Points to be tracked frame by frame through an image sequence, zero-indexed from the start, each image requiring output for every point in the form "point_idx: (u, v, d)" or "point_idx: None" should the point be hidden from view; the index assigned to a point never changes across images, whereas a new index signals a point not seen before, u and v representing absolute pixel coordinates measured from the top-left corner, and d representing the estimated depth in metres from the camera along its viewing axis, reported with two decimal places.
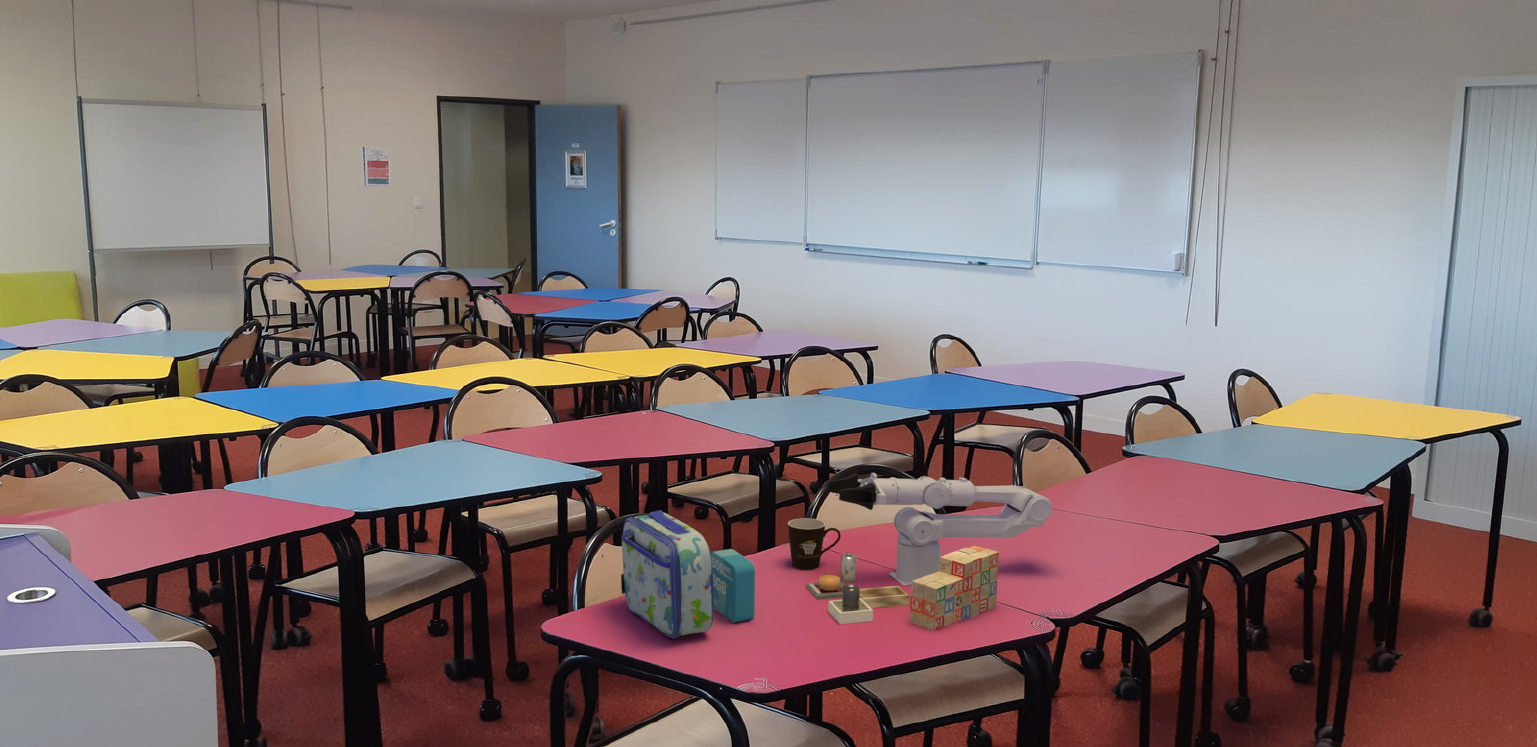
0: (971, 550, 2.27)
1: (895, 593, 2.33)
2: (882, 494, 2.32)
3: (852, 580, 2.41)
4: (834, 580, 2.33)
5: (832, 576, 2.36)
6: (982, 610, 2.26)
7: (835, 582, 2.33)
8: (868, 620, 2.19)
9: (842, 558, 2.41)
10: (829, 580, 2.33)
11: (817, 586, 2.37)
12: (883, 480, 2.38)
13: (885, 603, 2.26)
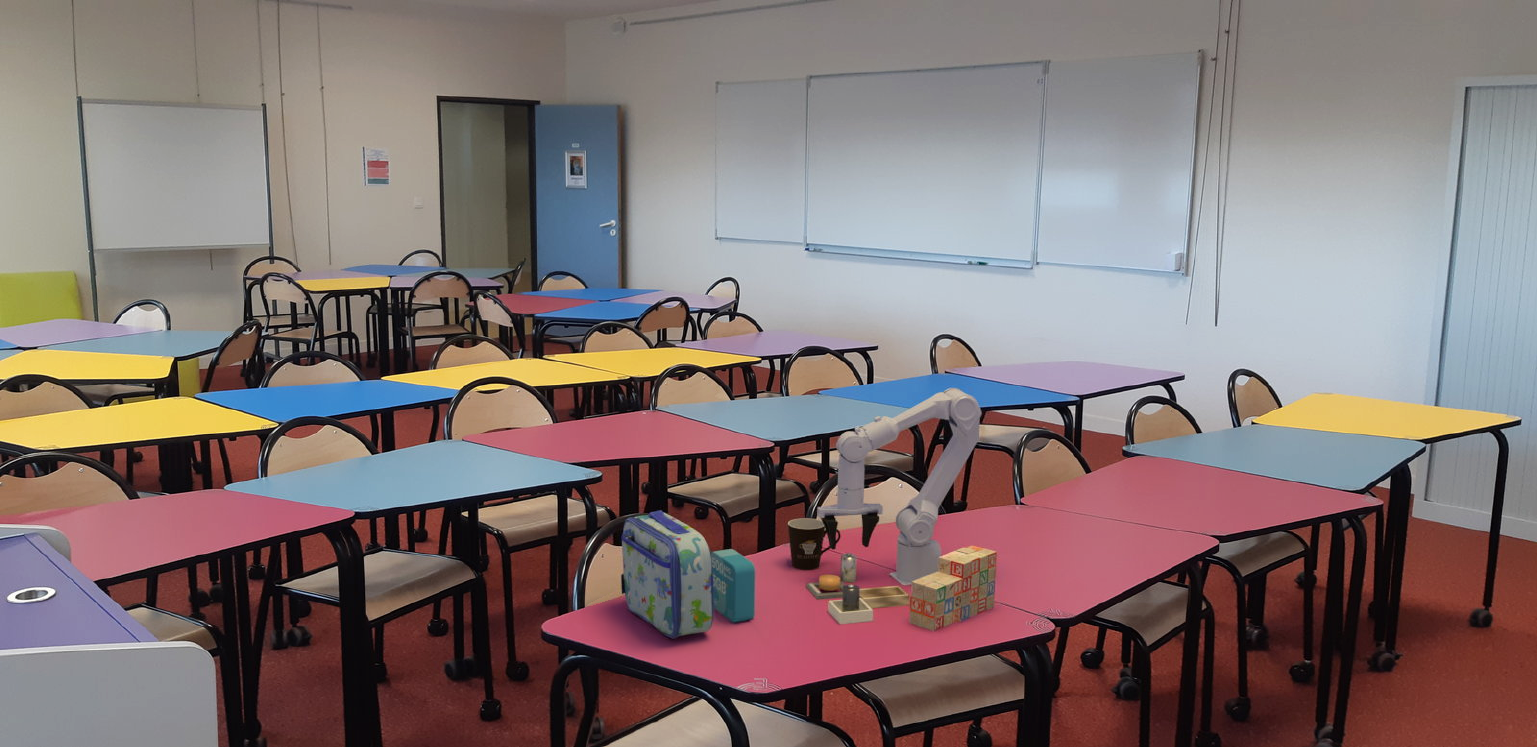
0: (969, 550, 2.27)
1: (895, 593, 2.33)
2: None
3: (852, 580, 2.41)
4: (834, 580, 2.33)
5: (832, 576, 2.36)
6: (980, 610, 2.26)
7: (835, 582, 2.33)
8: (868, 620, 2.19)
9: (842, 558, 2.41)
10: (829, 580, 2.33)
11: (817, 586, 2.37)
12: None
13: (885, 603, 2.26)
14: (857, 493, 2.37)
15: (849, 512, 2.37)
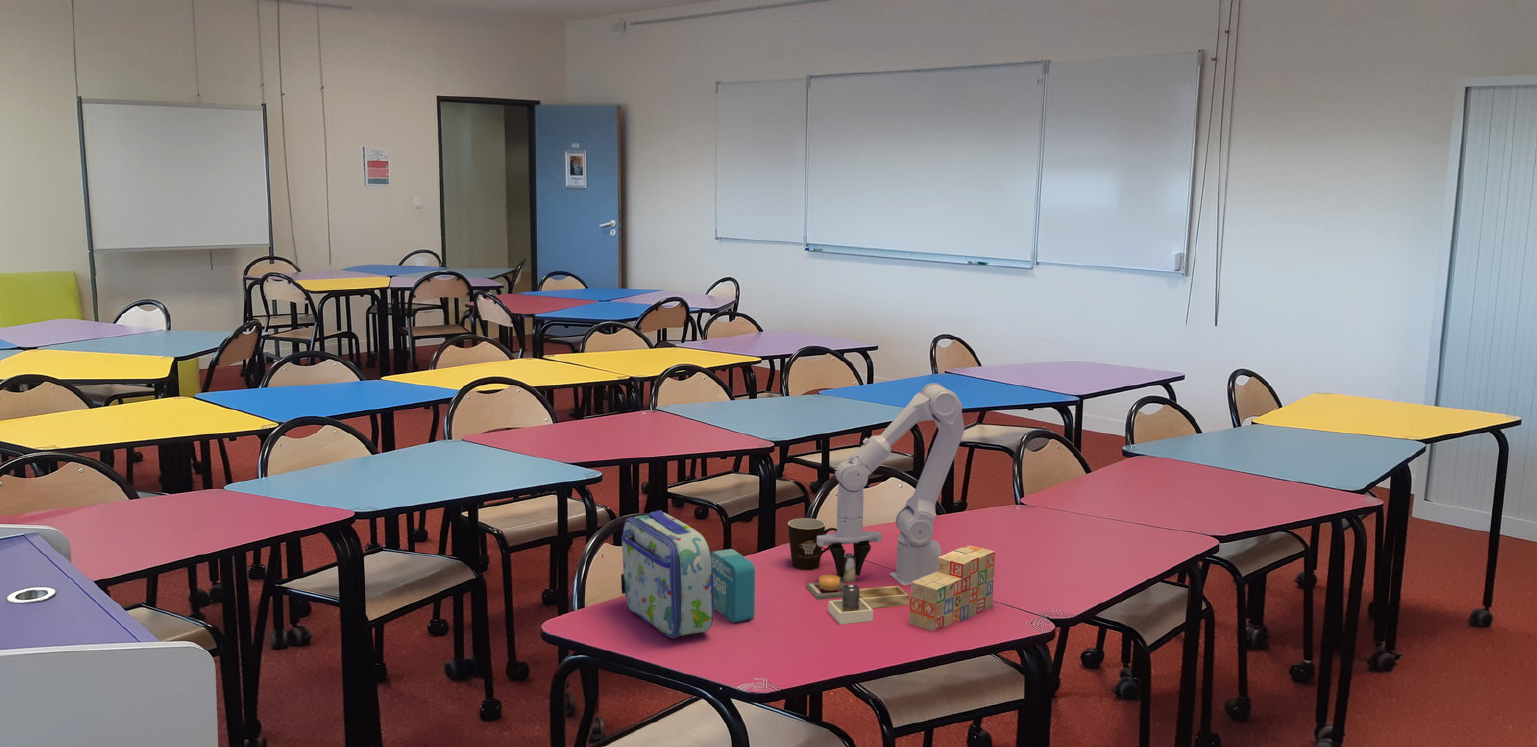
0: (967, 550, 2.27)
1: (895, 593, 2.33)
2: None
3: (852, 580, 2.41)
4: (834, 580, 2.33)
5: (832, 576, 2.36)
6: (979, 610, 2.26)
7: (835, 582, 2.33)
8: (868, 620, 2.19)
9: None
10: (829, 580, 2.33)
11: (817, 586, 2.37)
12: None
13: (885, 603, 2.26)
14: (856, 522, 2.38)
15: (848, 541, 2.38)
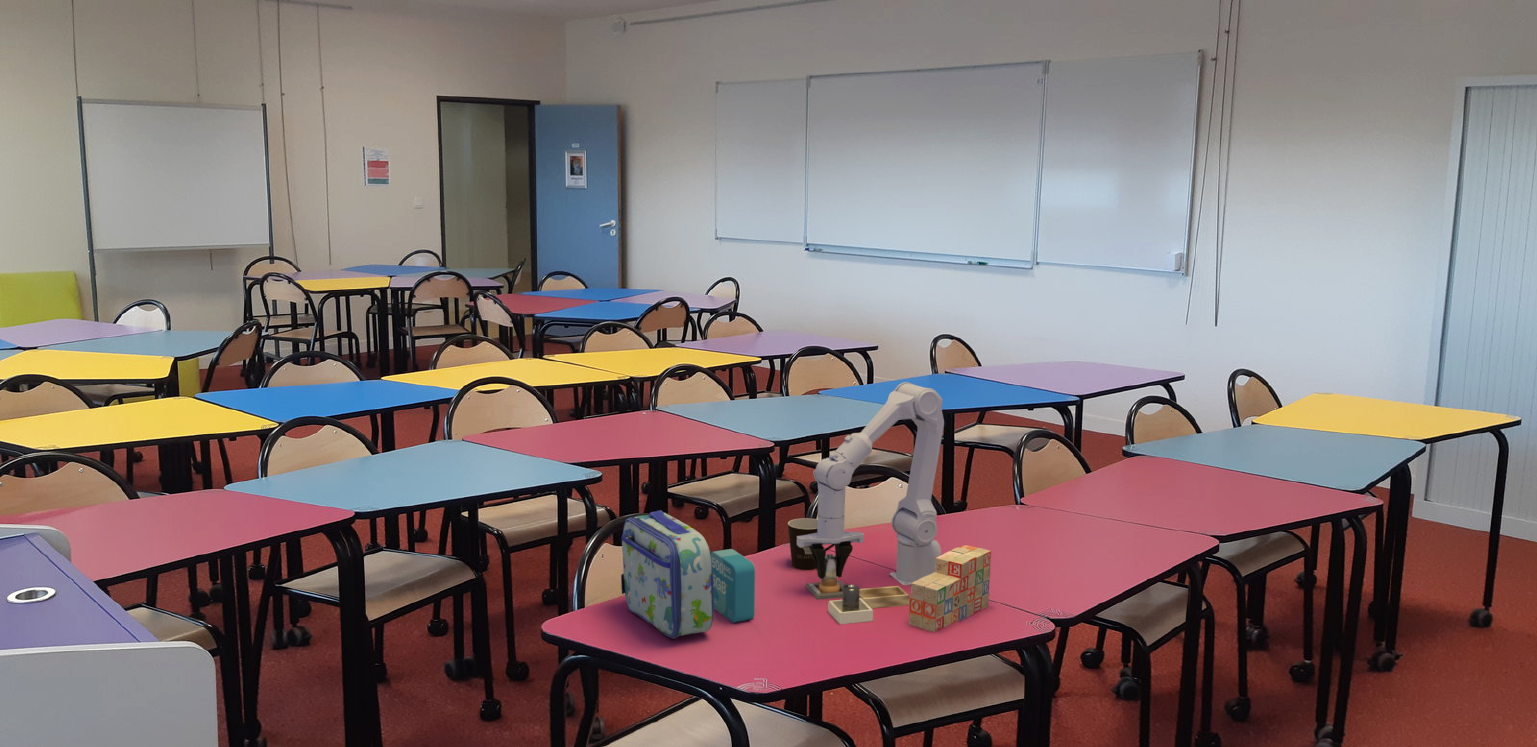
0: (964, 550, 2.27)
1: (895, 593, 2.33)
2: None
3: (832, 582, 2.33)
4: (834, 586, 2.33)
5: None
6: (976, 609, 2.26)
7: (834, 588, 2.33)
8: (868, 620, 2.19)
9: None
10: None
11: (817, 586, 2.37)
12: None
13: (885, 603, 2.26)
14: (837, 522, 2.30)
15: (829, 541, 2.30)
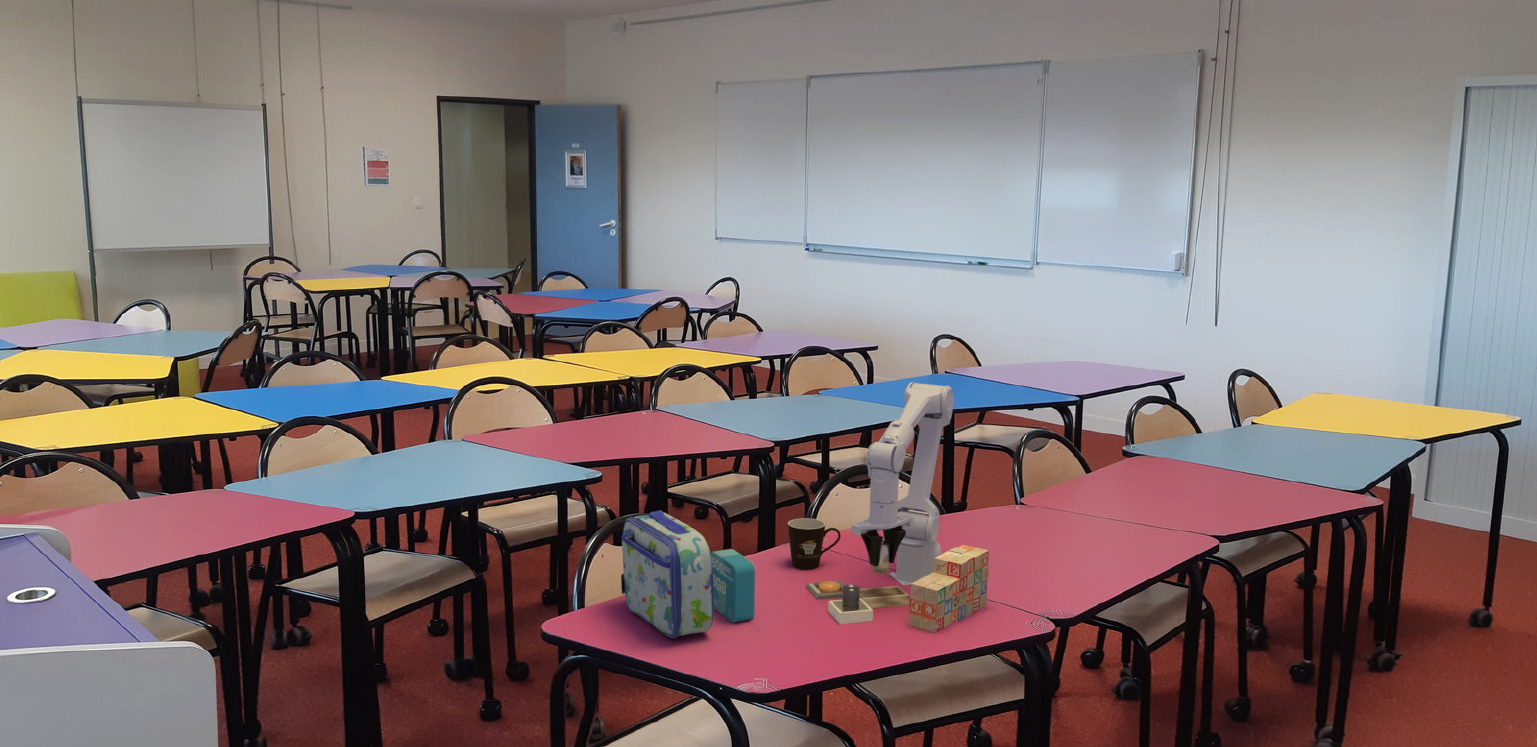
0: (962, 550, 2.27)
1: (895, 593, 2.33)
2: None
3: (887, 568, 2.27)
4: (834, 586, 2.33)
5: (832, 582, 2.36)
6: (975, 609, 2.26)
7: (834, 588, 2.33)
8: (868, 620, 2.19)
9: None
10: (829, 586, 2.33)
11: (817, 586, 2.37)
12: None
13: (885, 603, 2.26)
14: (894, 506, 2.24)
15: (886, 527, 2.24)
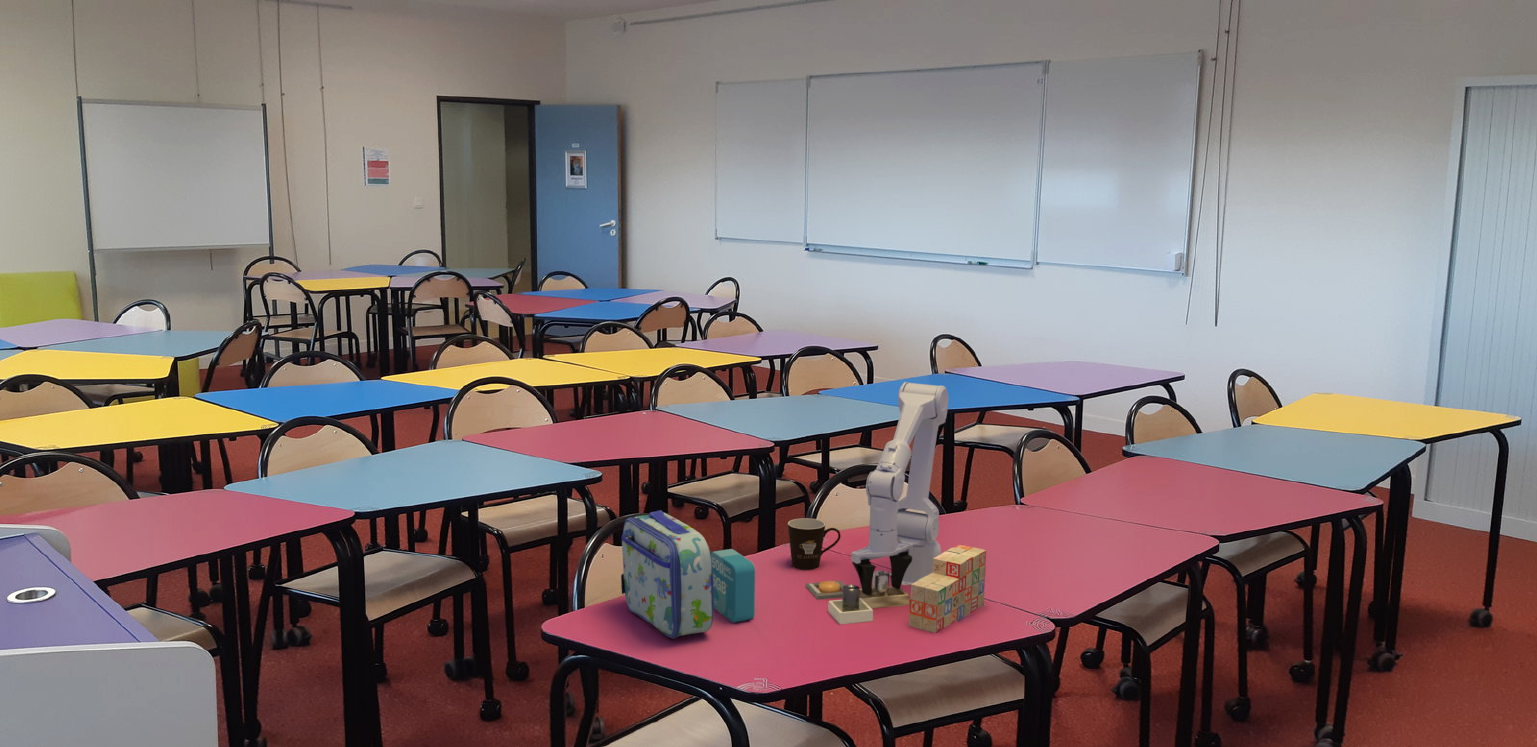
0: (960, 549, 2.27)
1: (895, 593, 2.33)
2: None
3: None
4: (834, 586, 2.33)
5: (832, 582, 2.36)
6: (973, 609, 2.26)
7: (834, 588, 2.33)
8: (868, 620, 2.19)
9: (875, 576, 2.28)
10: (829, 586, 2.33)
11: (817, 586, 2.37)
12: None
13: (885, 603, 2.26)
14: (893, 534, 2.25)
15: (886, 555, 2.25)
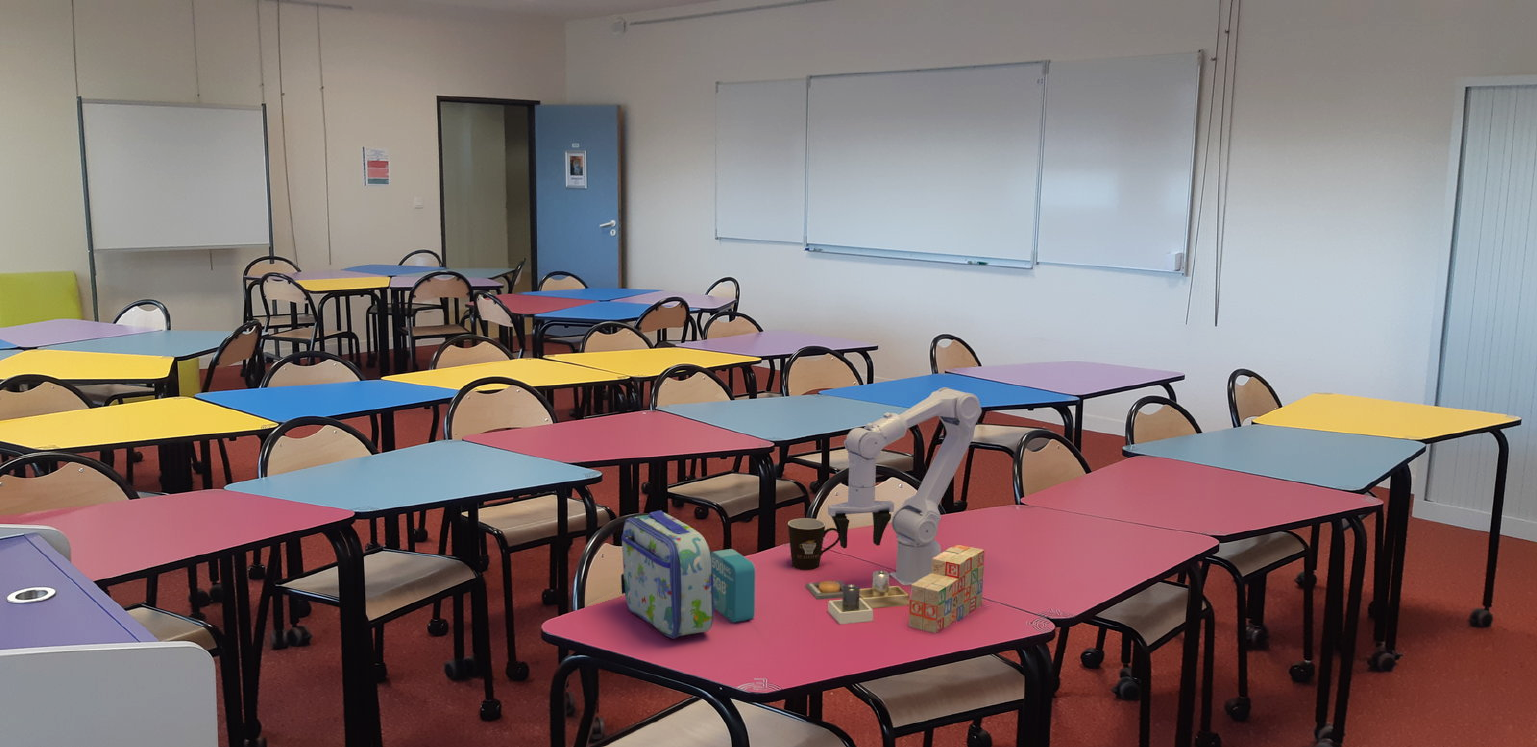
0: (958, 549, 2.27)
1: (895, 593, 2.33)
2: None
3: None
4: (834, 586, 2.33)
5: (832, 582, 2.36)
6: (971, 609, 2.26)
7: (834, 588, 2.33)
8: (868, 620, 2.19)
9: (875, 576, 2.28)
10: (829, 586, 2.33)
11: (817, 586, 2.37)
12: None
13: (885, 603, 2.26)
14: (869, 490, 2.32)
15: (861, 510, 2.32)
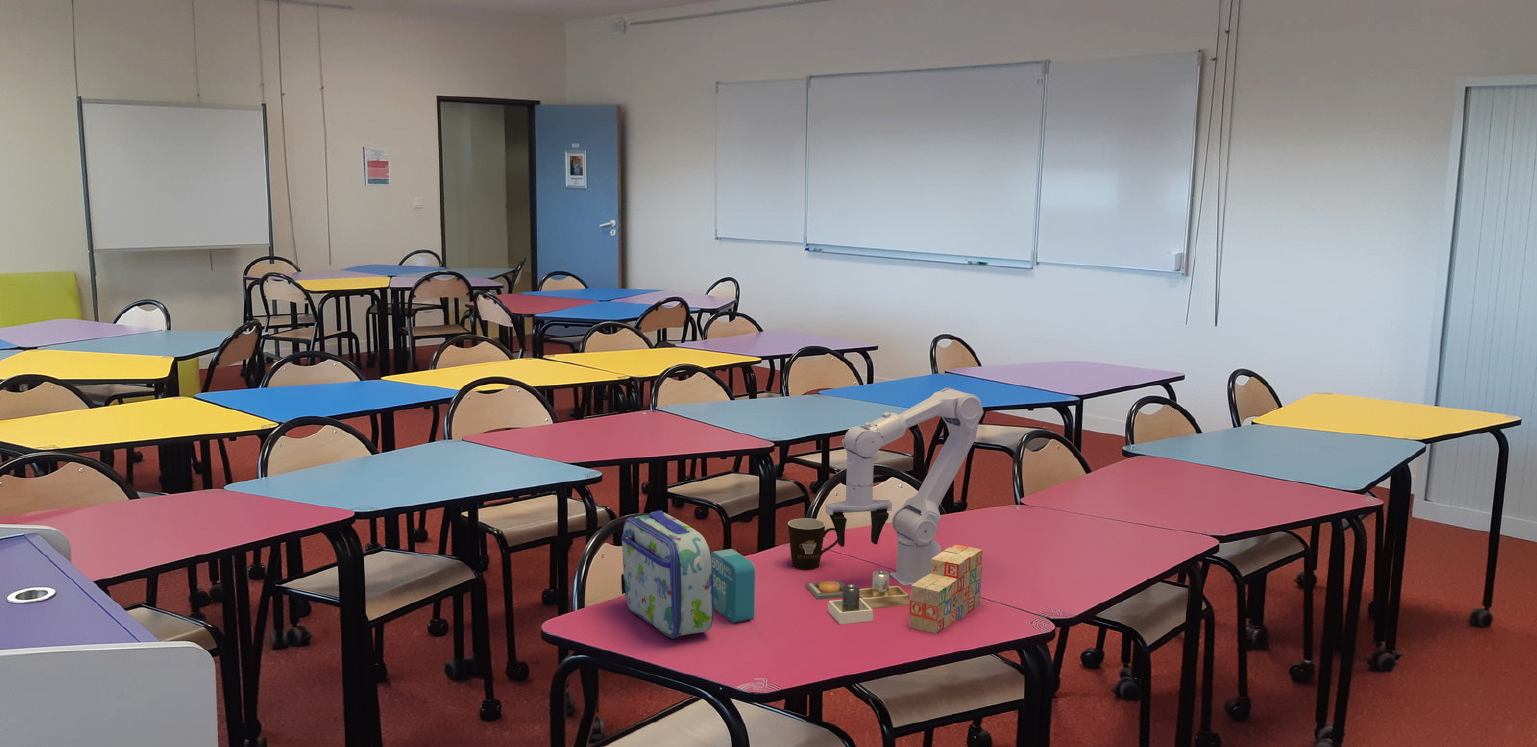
0: (956, 549, 2.27)
1: (895, 593, 2.33)
2: None
3: None
4: (834, 586, 2.33)
5: (832, 582, 2.36)
6: (970, 608, 2.26)
7: (834, 588, 2.33)
8: (868, 620, 2.19)
9: (875, 576, 2.27)
10: (829, 586, 2.33)
11: (817, 586, 2.37)
12: None
13: (885, 603, 2.26)
14: (866, 489, 2.33)
15: (858, 509, 2.33)
